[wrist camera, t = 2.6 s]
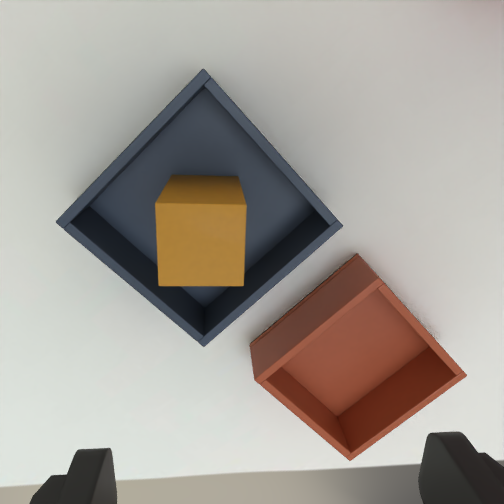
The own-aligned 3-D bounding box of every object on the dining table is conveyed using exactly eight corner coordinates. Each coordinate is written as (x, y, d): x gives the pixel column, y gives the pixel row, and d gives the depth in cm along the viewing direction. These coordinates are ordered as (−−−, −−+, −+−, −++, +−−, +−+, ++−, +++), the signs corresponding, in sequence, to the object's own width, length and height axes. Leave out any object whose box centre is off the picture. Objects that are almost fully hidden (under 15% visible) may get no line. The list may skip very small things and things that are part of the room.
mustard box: (173, 238, 29) (158, 286, 22) (171, 174, 28) (154, 203, 20) (236, 239, 30) (243, 286, 22) (238, 176, 28) (246, 204, 21)
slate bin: (78, 203, 28) (54, 222, 24) (205, 72, 26) (203, 68, 22) (205, 314, 32) (203, 347, 28) (325, 208, 30) (343, 226, 26)
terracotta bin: (249, 344, 33) (253, 380, 29) (357, 253, 31) (379, 277, 27) (334, 420, 37) (350, 461, 33) (437, 342, 35) (467, 375, 31)
